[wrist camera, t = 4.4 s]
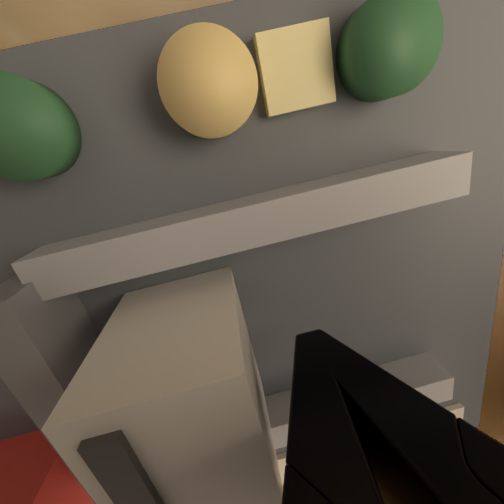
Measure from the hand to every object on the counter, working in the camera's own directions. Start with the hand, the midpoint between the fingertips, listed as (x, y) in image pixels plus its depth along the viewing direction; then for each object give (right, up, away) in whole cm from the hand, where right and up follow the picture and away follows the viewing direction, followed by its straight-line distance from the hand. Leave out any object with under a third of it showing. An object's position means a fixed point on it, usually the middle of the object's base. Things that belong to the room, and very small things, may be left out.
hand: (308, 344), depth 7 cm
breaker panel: (-3, 0, +2) cm, 4 cm away
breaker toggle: (-3, 0, +1) cm, 3 cm away
